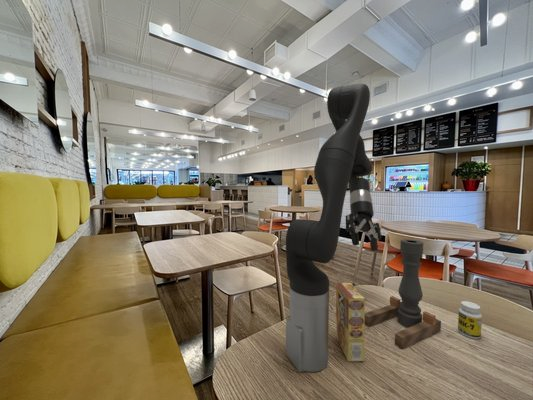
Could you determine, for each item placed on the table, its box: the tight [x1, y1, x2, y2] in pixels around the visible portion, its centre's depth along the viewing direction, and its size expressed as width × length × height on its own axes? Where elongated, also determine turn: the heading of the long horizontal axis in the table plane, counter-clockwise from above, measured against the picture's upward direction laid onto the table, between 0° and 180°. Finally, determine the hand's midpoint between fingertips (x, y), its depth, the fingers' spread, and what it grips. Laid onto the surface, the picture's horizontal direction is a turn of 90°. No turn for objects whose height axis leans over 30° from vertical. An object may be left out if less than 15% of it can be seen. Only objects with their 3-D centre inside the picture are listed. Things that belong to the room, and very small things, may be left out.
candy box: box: [335, 282, 366, 362], centre depth 55 cm, size 9×4×15 cm, turn 1°
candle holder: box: [397, 238, 424, 329], centre depth 66 cm, size 6×6×25 cm
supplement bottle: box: [457, 300, 483, 340], centre depth 61 cm, size 5×5×8 cm
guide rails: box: [365, 295, 442, 350], centre depth 64 cm, size 17×13×6 cm
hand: (365, 247), depth 73 cm, fingers open, 8 cm apart
